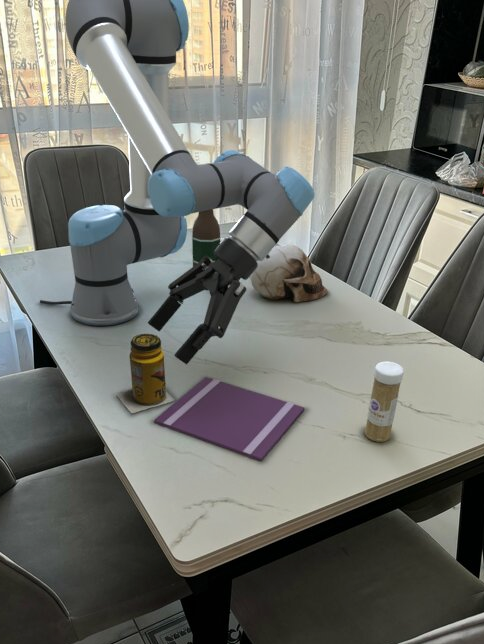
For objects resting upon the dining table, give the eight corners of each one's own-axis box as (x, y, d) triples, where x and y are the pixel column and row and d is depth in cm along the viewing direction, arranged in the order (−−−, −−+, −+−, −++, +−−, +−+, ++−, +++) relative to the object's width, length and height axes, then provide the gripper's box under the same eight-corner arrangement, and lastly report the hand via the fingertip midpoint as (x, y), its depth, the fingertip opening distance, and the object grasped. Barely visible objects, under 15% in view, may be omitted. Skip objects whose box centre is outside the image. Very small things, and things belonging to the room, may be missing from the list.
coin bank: (332, 291, 155) (333, 241, 147) (292, 319, 145) (290, 267, 137) (284, 277, 163) (282, 229, 155) (242, 302, 153) (238, 252, 145)
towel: (154, 422, 104) (153, 419, 104) (205, 379, 117) (205, 376, 117) (261, 461, 96) (261, 458, 96) (304, 410, 109) (304, 407, 109)
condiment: (174, 401, 110) (172, 343, 104) (131, 414, 106) (126, 355, 100) (157, 383, 115) (153, 326, 109) (115, 395, 111) (109, 337, 105)
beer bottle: (225, 273, 164) (226, 181, 151) (214, 283, 158) (214, 189, 144) (199, 268, 166) (197, 178, 153) (187, 278, 160) (184, 185, 146)
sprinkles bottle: (359, 435, 103) (369, 367, 96) (372, 424, 106) (384, 357, 99) (382, 446, 101) (395, 377, 93) (395, 434, 104) (409, 366, 96)
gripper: (292, 287, 98) (208, 385, 100) (226, 241, 116) (157, 325, 118) (264, 260, 93) (177, 364, 95) (201, 216, 111) (129, 304, 113)
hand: (166, 343), depth 107 cm, fingers open, 13 cm apart
